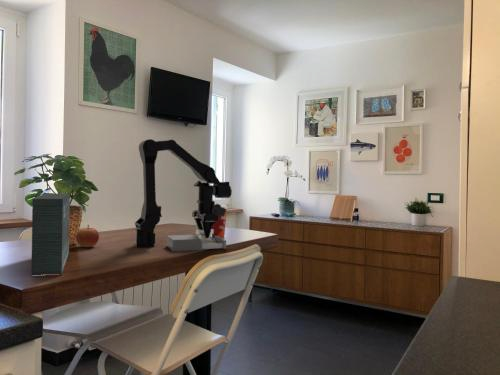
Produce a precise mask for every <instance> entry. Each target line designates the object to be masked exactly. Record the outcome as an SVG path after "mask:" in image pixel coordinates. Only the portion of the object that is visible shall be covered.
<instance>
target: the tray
mask: <svg viewBox="0 0 500 375" xmlns="http://www.w3.org/2000/svg"><path fill="white" fill-rule="evenodd" d="M226 248H227V240H226V239H224V238H220V237H218V236H215V238H214V239H211V240H202V250H211V249H226Z"/></svg>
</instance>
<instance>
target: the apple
mask: <svg viewBox="0 0 500 375" xmlns="http://www.w3.org/2000/svg"><path fill="white" fill-rule="evenodd" d="M99 233H100V232H98V230H97V229H96V228H93V227H90V225H89V224H87V227H80V228H79V229H78V230H77V231H76V233H75V236H74V238H75V241H76V243H77V245H78V246H80V247H81V248H82V247H83V248H91V247H94V246H96V245H97V243H98V242H99V240H100V234H99Z"/></svg>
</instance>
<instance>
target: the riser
mask: <svg viewBox="0 0 500 375" xmlns="http://www.w3.org/2000/svg"><path fill="white" fill-rule="evenodd" d="M198 238H200V239H201V240H212V235H209V238H206V237H205V235H198Z"/></svg>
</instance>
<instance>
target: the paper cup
mask: <svg viewBox="0 0 500 375" xmlns="http://www.w3.org/2000/svg"><path fill="white" fill-rule="evenodd" d="M220 205H221V207H222V208H225V209H227V210H228V207H227V205H226V204H225V205H224V204H223V205H222V204H220ZM227 210H226V212H225V215H224V216H221V215H219V221H217V222H216V223H215V224H213V226H212V228H211V229H213V230H214V232H213V234H212V235H211V238H214V239H215V236H218V237H220V238H222V239H224V238H225V235H226V222H227V221H226V220H227V212H228V211H227ZM216 214H217V213H216Z"/></svg>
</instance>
